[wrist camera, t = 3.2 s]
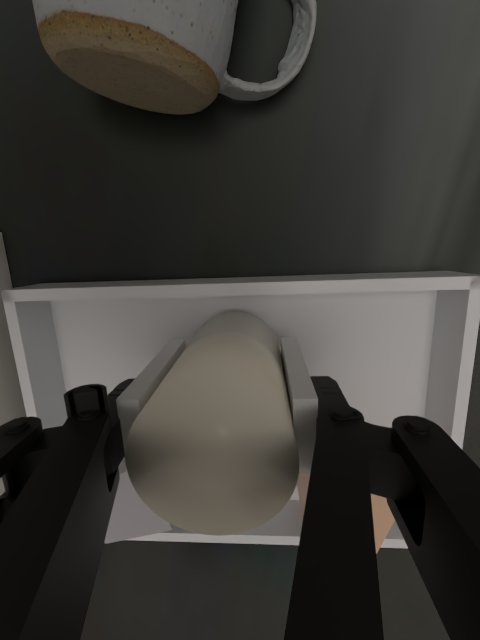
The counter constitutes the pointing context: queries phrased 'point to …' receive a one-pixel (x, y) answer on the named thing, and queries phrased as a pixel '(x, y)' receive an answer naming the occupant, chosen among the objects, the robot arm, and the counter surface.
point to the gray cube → (132, 513)
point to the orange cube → (379, 509)
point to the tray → (285, 321)
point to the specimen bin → (7, 359)
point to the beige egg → (218, 432)
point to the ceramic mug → (161, 50)
